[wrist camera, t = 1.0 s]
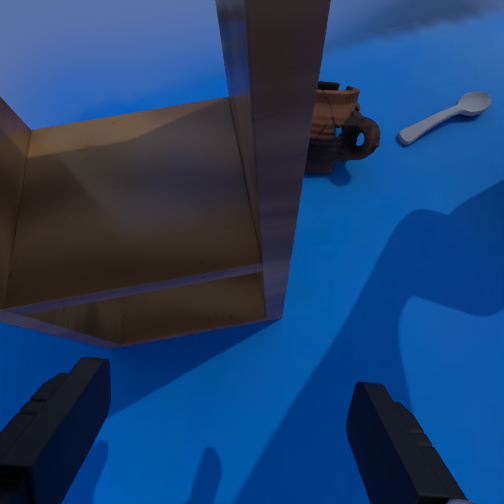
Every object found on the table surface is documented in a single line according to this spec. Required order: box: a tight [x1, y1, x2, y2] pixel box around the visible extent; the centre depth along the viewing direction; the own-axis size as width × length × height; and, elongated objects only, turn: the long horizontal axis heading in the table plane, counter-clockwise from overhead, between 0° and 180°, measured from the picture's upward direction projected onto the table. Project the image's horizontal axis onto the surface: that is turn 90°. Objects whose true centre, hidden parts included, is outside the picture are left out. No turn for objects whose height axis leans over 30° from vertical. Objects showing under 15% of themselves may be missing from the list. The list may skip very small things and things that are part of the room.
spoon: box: [398, 91, 491, 145], centre depth 37 cm, size 3×12×2 cm, turn 117°
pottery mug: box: [304, 81, 380, 174], centre depth 35 cm, size 12×10×8 cm
